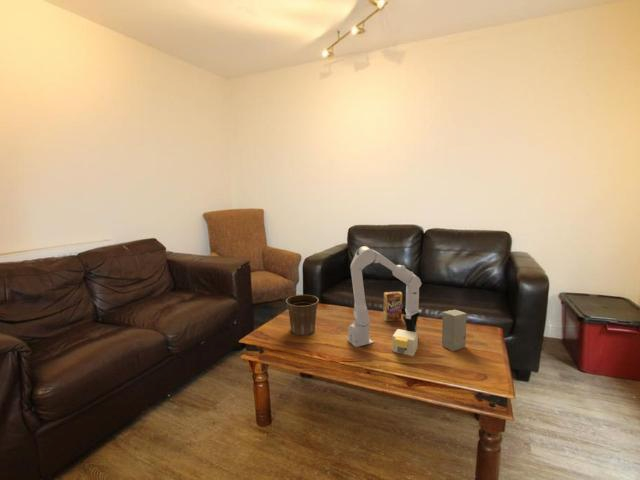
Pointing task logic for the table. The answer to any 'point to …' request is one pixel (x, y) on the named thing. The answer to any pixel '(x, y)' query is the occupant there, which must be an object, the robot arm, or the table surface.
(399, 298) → the candy box
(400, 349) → the shaft
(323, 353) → the table surface
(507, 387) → the table surface
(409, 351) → the bearing block
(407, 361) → the table surface
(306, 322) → the plant pot
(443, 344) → the skincare box
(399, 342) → the block
